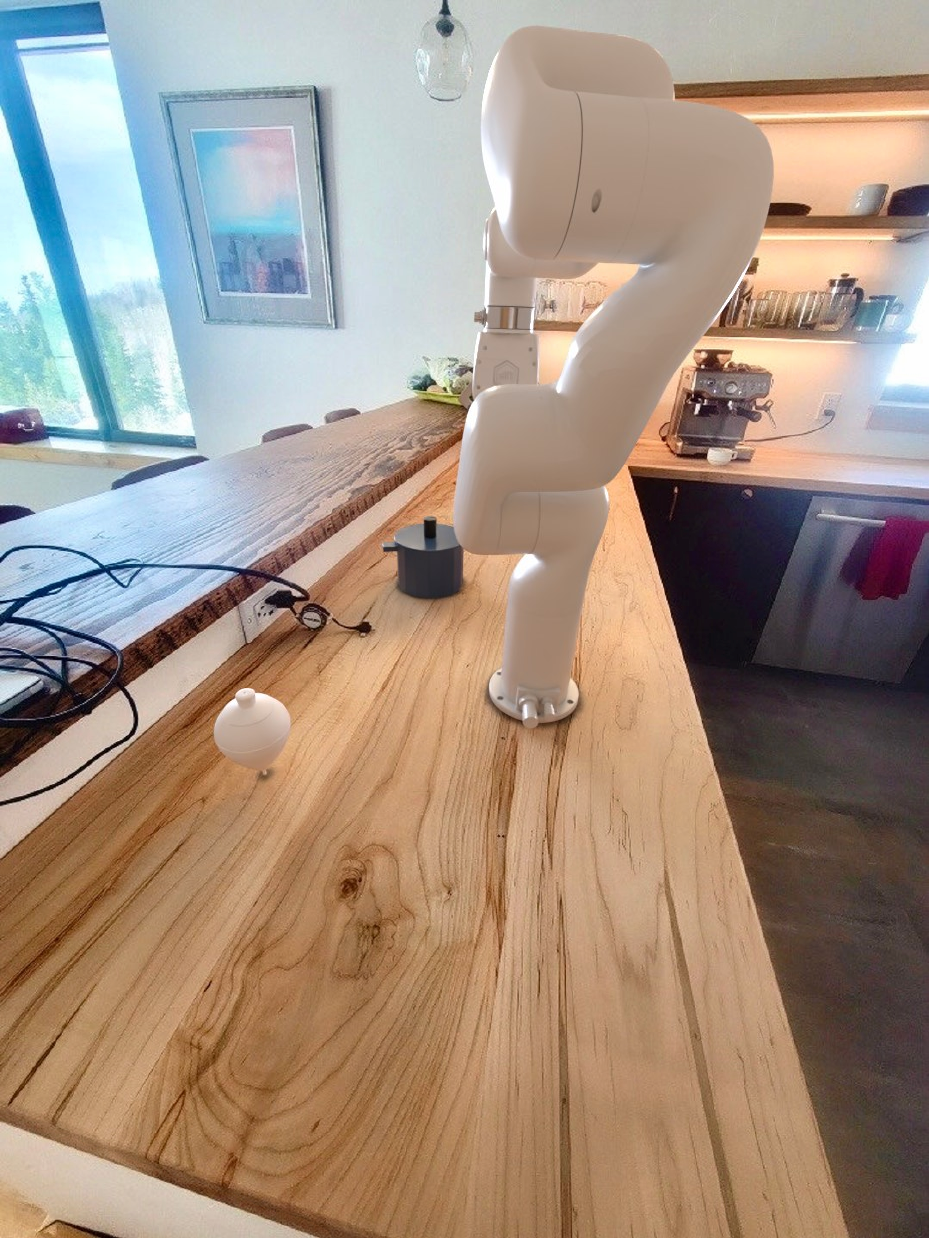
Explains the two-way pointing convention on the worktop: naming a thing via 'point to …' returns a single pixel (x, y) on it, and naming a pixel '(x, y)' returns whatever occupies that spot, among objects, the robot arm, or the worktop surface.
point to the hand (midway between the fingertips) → (500, 447)
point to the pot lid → (427, 537)
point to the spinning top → (252, 729)
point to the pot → (428, 571)
